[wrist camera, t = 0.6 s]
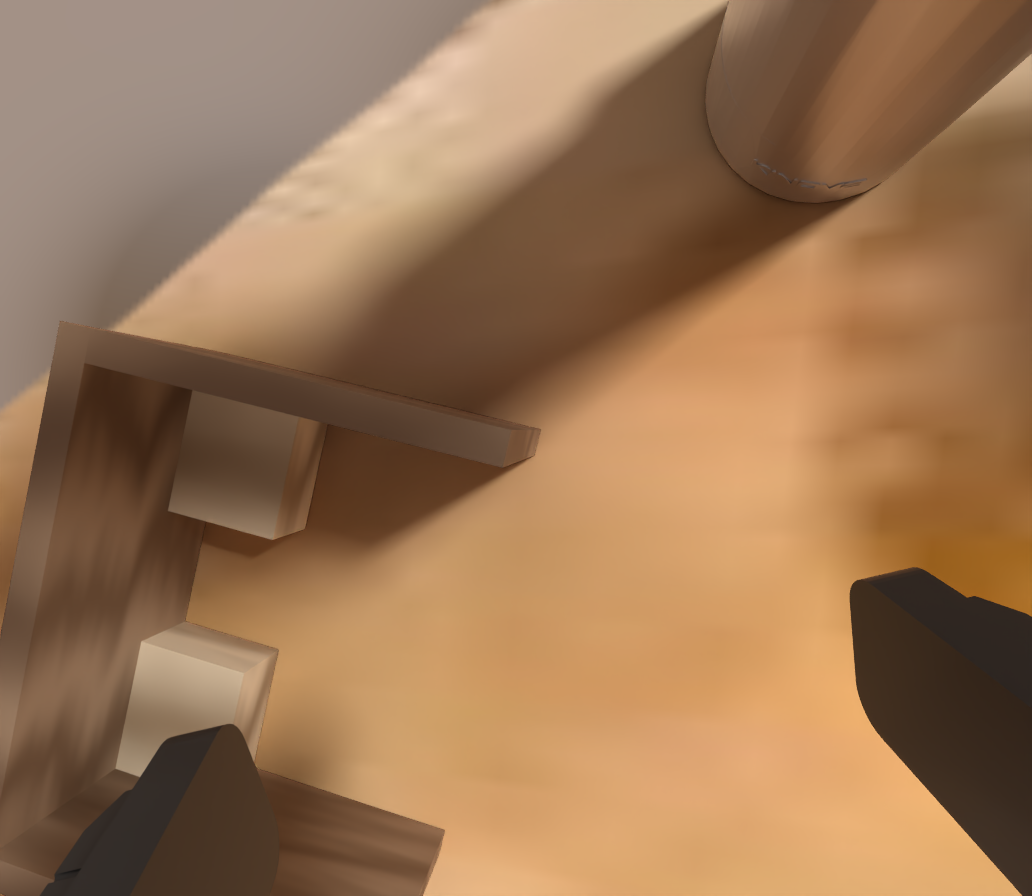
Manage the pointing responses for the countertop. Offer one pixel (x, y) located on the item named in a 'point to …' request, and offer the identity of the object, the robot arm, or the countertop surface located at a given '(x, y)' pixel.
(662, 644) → the countertop surface
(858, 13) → the robot arm
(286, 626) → the countertop surface
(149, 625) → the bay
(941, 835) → the countertop surface
